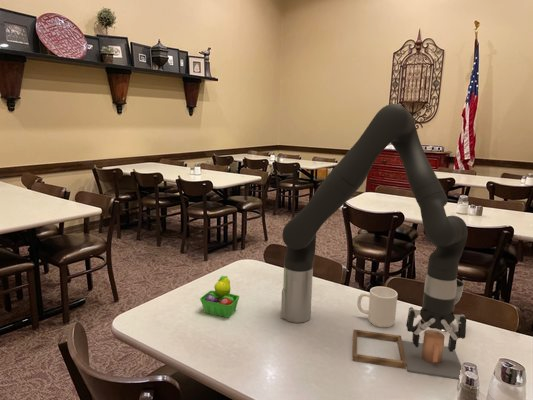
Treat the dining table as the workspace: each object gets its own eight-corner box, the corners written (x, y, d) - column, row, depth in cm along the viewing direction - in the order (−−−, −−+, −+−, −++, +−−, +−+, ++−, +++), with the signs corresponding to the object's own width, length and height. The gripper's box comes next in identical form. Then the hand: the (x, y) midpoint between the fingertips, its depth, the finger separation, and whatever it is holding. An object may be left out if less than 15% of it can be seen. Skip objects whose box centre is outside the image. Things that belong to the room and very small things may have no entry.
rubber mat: (407, 371, 100) (407, 369, 100) (401, 341, 113) (401, 340, 113) (466, 380, 97) (466, 378, 97) (453, 348, 110) (453, 347, 110)
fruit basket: (198, 313, 127) (198, 281, 125) (212, 302, 135) (212, 271, 133) (229, 320, 123) (229, 287, 121) (242, 308, 131) (242, 277, 129)
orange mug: (420, 351, 108) (422, 328, 106) (439, 354, 107) (442, 331, 105) (424, 366, 101) (427, 341, 100) (444, 369, 100) (447, 344, 99)
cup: (394, 330, 119) (397, 299, 117) (354, 322, 123) (356, 293, 121) (395, 317, 127) (397, 288, 125) (357, 310, 131) (359, 282, 129)
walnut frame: (352, 360, 104) (353, 355, 104) (353, 333, 117) (353, 329, 117) (406, 368, 101) (406, 363, 101) (400, 340, 114) (401, 335, 114)
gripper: (465, 288, 103) (458, 344, 106) (409, 282, 106) (403, 336, 109) (473, 301, 96) (465, 360, 99) (412, 294, 99) (406, 351, 102)
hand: (432, 347), depth 104 cm, fingers open, 8 cm apart
